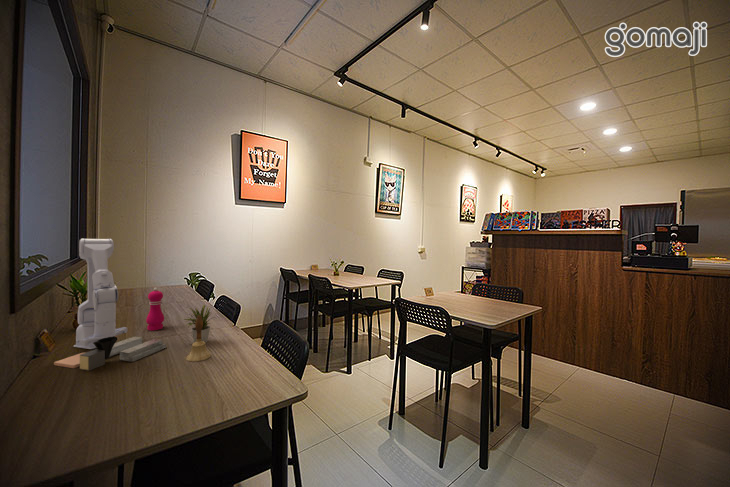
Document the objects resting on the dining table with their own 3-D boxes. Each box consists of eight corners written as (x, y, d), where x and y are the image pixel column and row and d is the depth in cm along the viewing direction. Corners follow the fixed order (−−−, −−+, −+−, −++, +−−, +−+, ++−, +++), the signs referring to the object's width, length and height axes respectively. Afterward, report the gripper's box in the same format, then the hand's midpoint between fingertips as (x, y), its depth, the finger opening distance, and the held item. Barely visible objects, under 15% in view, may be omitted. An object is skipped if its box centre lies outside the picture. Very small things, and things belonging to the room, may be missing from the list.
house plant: (183, 337, 134) (183, 301, 133) (217, 334, 140) (218, 299, 139) (178, 349, 121) (179, 309, 120) (216, 344, 127) (217, 306, 126)
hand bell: (181, 358, 112) (181, 316, 112) (202, 351, 120) (202, 311, 119) (194, 363, 108) (195, 320, 108) (215, 355, 116) (216, 315, 115)
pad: (53, 365, 104) (53, 362, 104) (83, 355, 113) (83, 352, 113) (73, 368, 102) (73, 365, 102) (102, 357, 111) (102, 355, 111)
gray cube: (79, 369, 101) (79, 354, 101) (96, 363, 106) (95, 349, 106) (88, 370, 100) (88, 356, 100) (104, 364, 105) (104, 350, 105)
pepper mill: (154, 331, 141) (155, 289, 140) (142, 330, 142) (142, 288, 141) (167, 327, 148) (168, 286, 147) (155, 325, 149) (156, 285, 149)
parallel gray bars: (94, 355, 112) (94, 348, 112) (130, 343, 126) (130, 335, 126) (132, 361, 108) (133, 353, 108) (166, 347, 122) (166, 340, 122)
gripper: (91, 328, 99) (91, 368, 99) (134, 316, 113) (133, 352, 114) (75, 326, 101) (75, 366, 101) (119, 315, 115) (118, 350, 115)
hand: (105, 358), depth 107 cm, fingers closed
